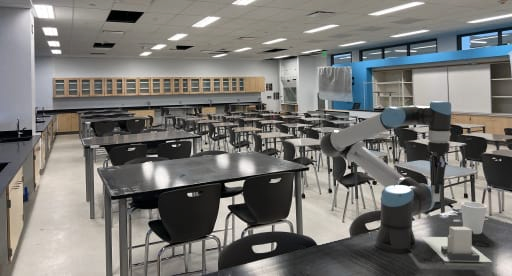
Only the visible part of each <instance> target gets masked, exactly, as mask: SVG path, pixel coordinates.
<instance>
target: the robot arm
mask: <svg viewBox="0 0 512 276" xmlns="http://www.w3.org/2000/svg"><path fill="white" fill-rule="evenodd" d="M452 113H453V112H452V103H451V102H450V101H439V100H438V101H435V100H434V101H430V103H429V105H428V106H426V105H423V106H422V105H404V106H390V107H386V108H385V109H383V111H382V112H380V113H378V114H375V115H373V116H371V117H369V118H367V119H364V120H362V121H359V122H357V123H355V124H352V125H350V126H348V127H345V128H343V129H341V130H333V131H331V132H328V133H327V132H326V133H325V134H324V135H323V136H322V137H321V138H320V140H319V141H320V142H319V147H320V150H321V152H322V153H323V154H324V155H325V156H327V157H330V158H337V157H343V158H344V160H346V161H347V162H349V163H354V164H356V165H357V166H358V167H359V168H360V169H362V170H363V171H365V173H367V174H368V175H369V176H370V177H372V178H373V179H374V180H375V181H377V182H378V183H379V184H380V185H381V186H383V187H384V188H383V189H382V191H381V195H380V227H379V228H378V231H377V234H376V236H375V242H374V243H375V246H376V247H377V248H378V249H380V250H382V251H384V252H388V253H392V254H393V253H394V254H411V253H412V251H411V250H413V249H415V248H416V247H417V241H416V236H415V233H414V231H413V217H415V216H418V215H420V214H425V213H427V212H429V211H430V210H432V209H433V208H434V207H435V204H436V203H437V202H439V203H440V202H441V201H440V200H441V188H442V187H441V186H443V185H444V180H445V173H446V166H447V165H448V164H447V161H446V157H445V153H447V154H448V153H449V152H450V143H449V141H450V140H451V135H452V133H451V123H452V122H451V121H452ZM414 125H415V126H417V125H418V126H428V134H427V140H428V142H427V151H428V152H430V153H431V156H429V158H428V159H429V173H430V176H429V178H430V179H429V180H430V182H431V186H430V185H428V184H426V183H422V182H420V183H418V182H417V181H416V180H415V179H413V177H412V178H411V176H406V177H405V176H404V175H402V174H400V173H399V172H398V171H397V170H395V169H394V168H393V167H392V166H390V165H389V164H388V163H386V162H385V161H384V160H382V159H381V158H379V156H377V155H376V154H374V152H372V151H371V150H370V149H368V148H367V146H366V143H365V142H364V141H365V140H367V139H370V138H372V137H375V136H377V135H380V134H382V133H385V132H389V131H391V130H394V129H396V128H400V127H403V126H405V127H406V126H414Z"/></svg>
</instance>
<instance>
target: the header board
mask: <svg viewBox="0 0 512 276" xmlns="http://www.w3.org/2000/svg"><path fill="white" fill-rule="evenodd" d="M421 239H422V241H424V242H426V244H427V245H428V246H429V247H430V248H431V249H432V251H434V252H435V253H436V254H437V255H438V256H439V257H440V258H441V259H442V260H443V261H444V262H442V264H443V265H444V266H465V267H466V266H469V267H470V266H472V267H474V266H477V267H493V261H492V260H491V259H490V258H488V257H487V256H485V255H484V254H483V252H480V250H478V249H477V248H475V246H473V245H472V250H471V254H452V253H451V252H448V236H421ZM454 262H455V263H454ZM459 262H460V263H459ZM462 262H468V263H462ZM470 262H471V263H470ZM472 262H473V263H472ZM475 262H477V263H475Z"/></svg>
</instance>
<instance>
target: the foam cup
mask: <svg viewBox="0 0 512 276" xmlns="http://www.w3.org/2000/svg"><path fill="white" fill-rule="evenodd" d="M460 206H461V207H460V209H461V210H460V211H461V216H462V218H461V219H462V227H468V228H469V229H471V230H472V231H473V234H472V235H480V234H482V232H483V228H484V224H485V218H486V216H487V215H486V213H487V208H488V207H487V205H486V204H484V203H481V202H476V201H462V202H461V203H460Z"/></svg>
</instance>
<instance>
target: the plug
mask: <svg viewBox="0 0 512 276" xmlns="http://www.w3.org/2000/svg"><path fill="white" fill-rule="evenodd" d="M448 229H449V230H448V235H447V237H448V252H451V253H452V254H471V250H472V246H473V245H472V243H473V242H472V241H473V240H472V239H473V237H472V236H473V235H474V234H473V231H472V230H471V229H469V228H468V227H463V226H449V227H448Z"/></svg>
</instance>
